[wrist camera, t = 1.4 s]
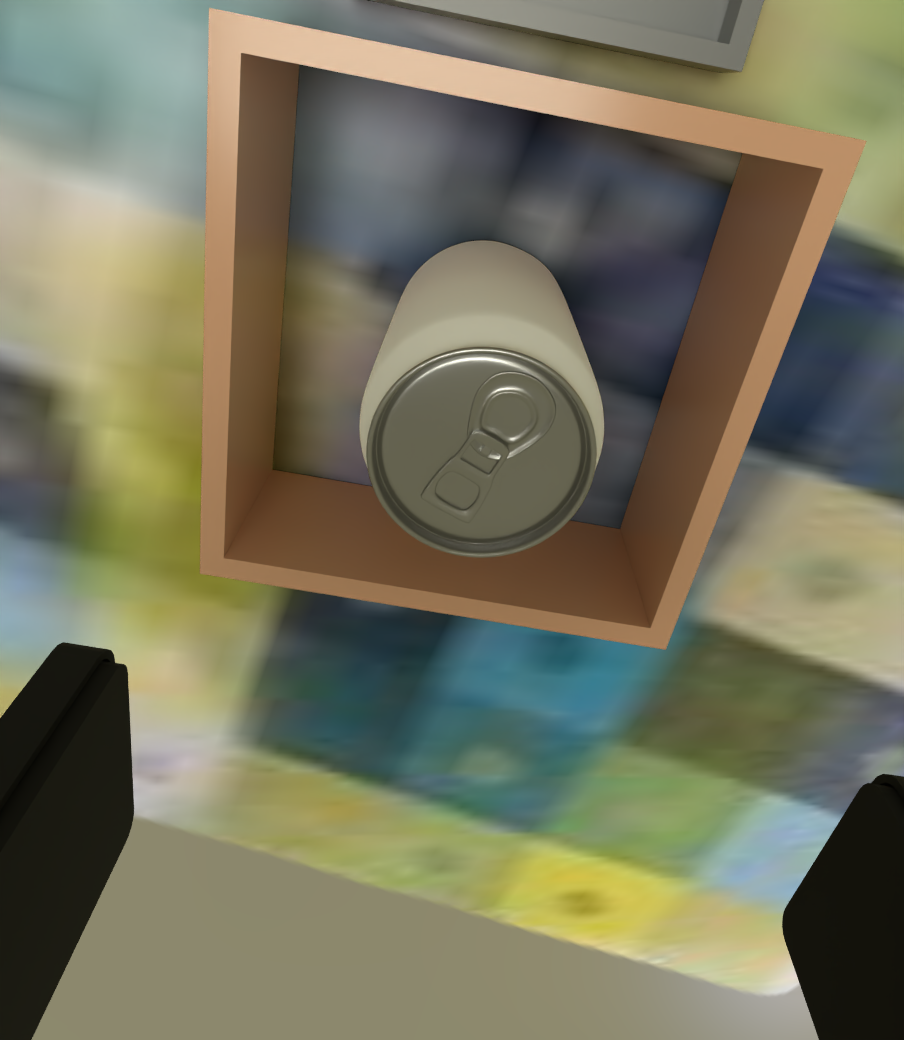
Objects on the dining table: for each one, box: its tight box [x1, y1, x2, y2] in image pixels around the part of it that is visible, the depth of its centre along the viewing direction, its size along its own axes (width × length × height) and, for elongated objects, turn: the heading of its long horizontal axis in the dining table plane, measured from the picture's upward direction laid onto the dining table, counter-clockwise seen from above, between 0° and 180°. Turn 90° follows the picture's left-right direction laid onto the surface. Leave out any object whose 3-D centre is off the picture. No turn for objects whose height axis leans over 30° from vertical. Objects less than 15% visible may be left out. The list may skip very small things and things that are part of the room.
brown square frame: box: [200, 8, 866, 650], centre depth 26 cm, size 17×17×7 cm
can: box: [359, 240, 604, 558], centre depth 24 cm, size 6×6×12 cm
